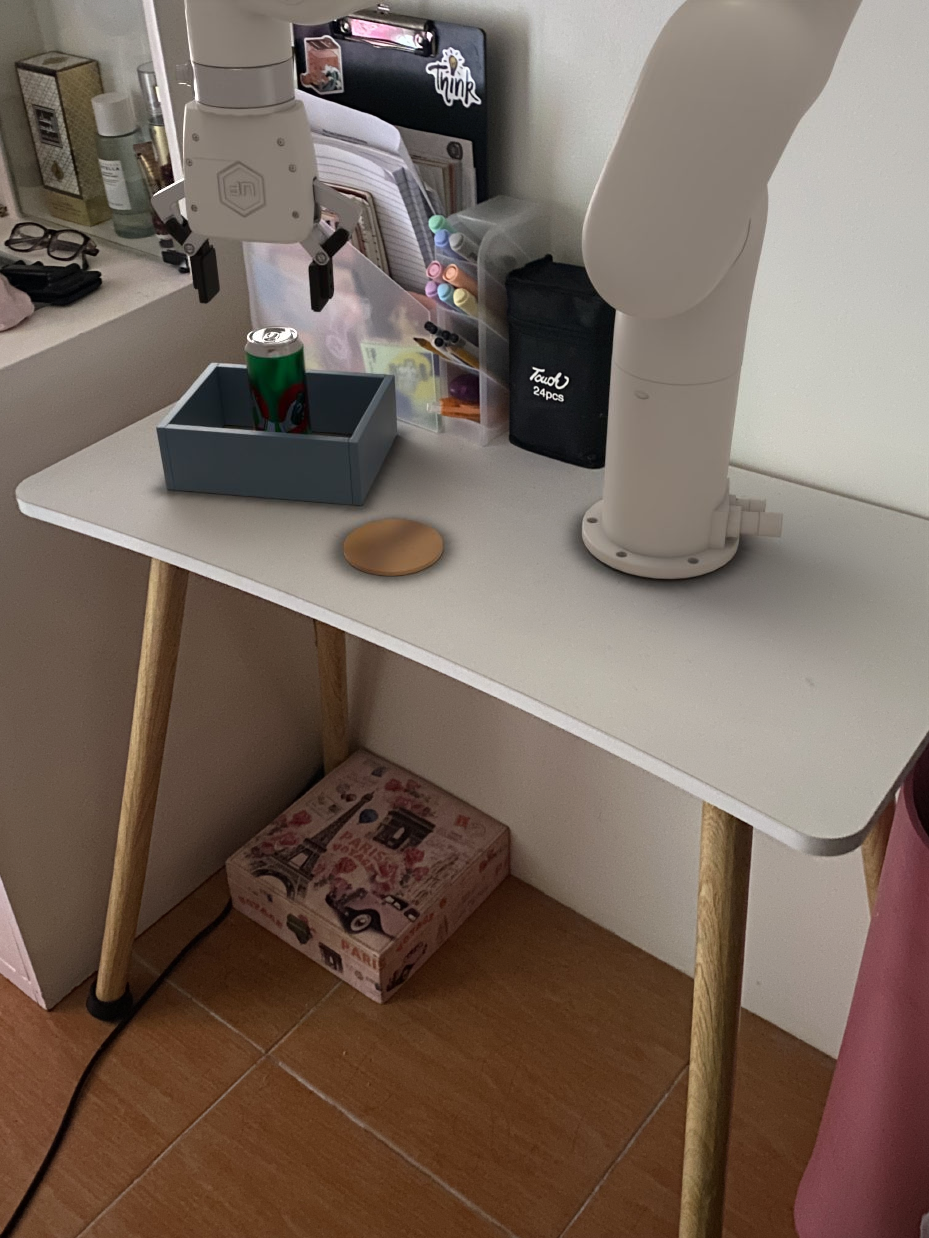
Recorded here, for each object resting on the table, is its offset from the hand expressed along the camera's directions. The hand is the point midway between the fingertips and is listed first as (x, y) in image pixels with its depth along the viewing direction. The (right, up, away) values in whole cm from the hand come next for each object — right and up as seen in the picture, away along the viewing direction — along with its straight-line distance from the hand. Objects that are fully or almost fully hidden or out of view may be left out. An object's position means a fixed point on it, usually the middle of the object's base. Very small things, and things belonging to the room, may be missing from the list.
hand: (265, 302), depth 102 cm
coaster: (+11, -21, -4) cm, 24 cm away
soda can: (+1, -12, +9) cm, 15 cm away
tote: (+1, -12, +9) cm, 15 cm away
